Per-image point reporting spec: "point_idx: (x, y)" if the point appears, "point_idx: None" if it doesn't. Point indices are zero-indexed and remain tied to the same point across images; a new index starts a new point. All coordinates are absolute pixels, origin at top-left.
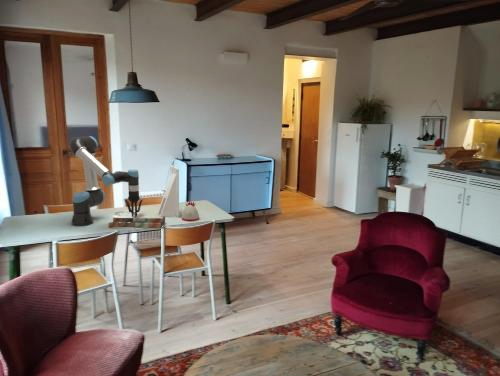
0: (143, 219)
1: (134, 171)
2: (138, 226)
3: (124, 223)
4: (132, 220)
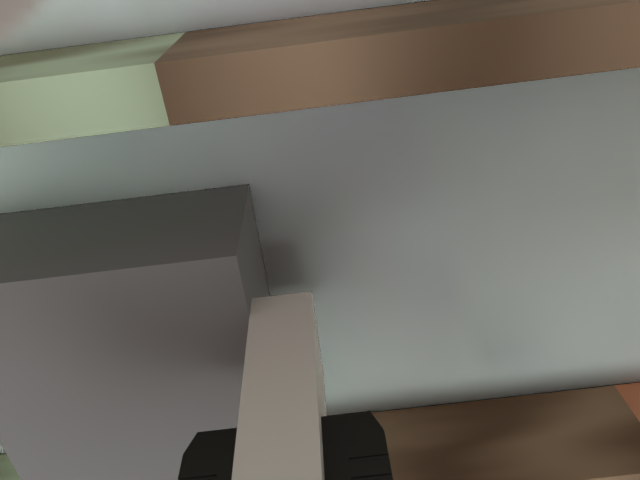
0: (59, 443)
1: None
2: (60, 54)
3: (549, 10)
4: (404, 449)
